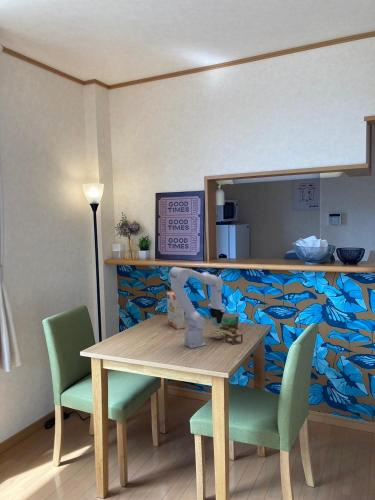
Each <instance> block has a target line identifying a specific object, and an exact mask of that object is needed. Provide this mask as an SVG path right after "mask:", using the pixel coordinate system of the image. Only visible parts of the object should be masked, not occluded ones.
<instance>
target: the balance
mask: <svg viewBox="0 0 375 500" xmlns="http://www.w3.org/2000/svg"><path fill="white" fill-rule="evenodd" d="M232 329H233V328H229V330H224V329H223V328H212V329H210V330H209V333H211V334H216V336H213V339H215V340H216V341H220V340H225V333H228V332H232ZM236 331H237V332H239V333H240V330H238V329H236ZM217 334H218V335H217ZM220 334H221V335H220ZM229 338H230V339H231V338H232V336H229V335H227V339H229Z"/></svg>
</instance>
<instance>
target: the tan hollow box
mask: <svg viewBox="0 0 375 500" xmlns="http://www.w3.org/2000/svg"><path fill="white" fill-rule="evenodd" d="M236 330H237V329H235V328H233V329H232V332H228V333H225V339H224V341H225V343H228V338H227V335H229V336H232V337H231V345H232V346H234V345H235V341H236V340H237V337H238V336H240V343H241V344H243V339H244V338H243V337H244V336H243V333H242V332H240V331H239V332H237V331H236Z"/></svg>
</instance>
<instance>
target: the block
mask: <svg viewBox="0 0 375 500" xmlns="http://www.w3.org/2000/svg"><path fill="white" fill-rule="evenodd" d="M211 323H212V324H211V325H212V326H213V327H214V326H215V327H219V326H222V321H221V323H219V324H218V323H217V318H216V317H212V316H211Z"/></svg>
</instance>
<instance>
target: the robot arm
mask: <svg viewBox="0 0 375 500" xmlns="http://www.w3.org/2000/svg"><path fill="white" fill-rule="evenodd" d="M170 268H171V267H170ZM168 277H169V279H170V280H169V281H170V287H171V292H174V294H175V296H176V298H177V299H178V301H179V303H180V305H181V306H182V308H183V310H184V317H185V324H186V325H187V326H188V329H186V330H184V345H185V346H187V347H189V348H190V349H193V348H198V347H203V346H207V343H205V342H204V328H205V326H206V319H205V317H202V315H201V314H200V313H199V312H198V311H197V310H196V309H195V306H194V305H193V304H192V301H191V300H190V298H189V296H188V295H187V292H186V291H185V289H184V287H185V284H186V283H187V281H188V280H189V279H190V278H193V279H194V278H195V279H197V280H199V282H200V283H201V284H205V285H207V286H210V299H211V300H210V303H207V307H208V312H209V314H210V316H211V318H212V317H216V318H217V323H218V324H219V323H221V321H222V317H223V314H224V313H226V308H225V307H224V305H223V304H222V303H223V302H222V290H223V286H224V280H223V279H222V277H220V276H216V275H215V274H210V272H208V271H204V272H198V271H196V270H193V269H192V268H184V267H177V266H172V268H171V269H170V270H169V273H168Z"/></svg>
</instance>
